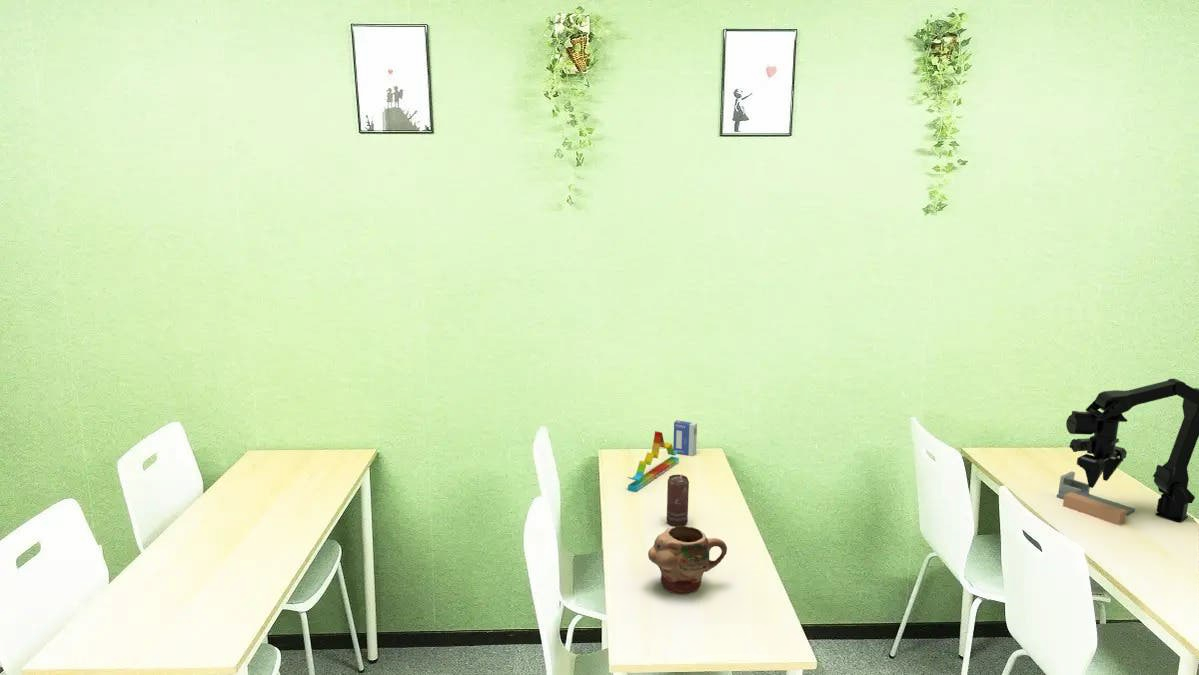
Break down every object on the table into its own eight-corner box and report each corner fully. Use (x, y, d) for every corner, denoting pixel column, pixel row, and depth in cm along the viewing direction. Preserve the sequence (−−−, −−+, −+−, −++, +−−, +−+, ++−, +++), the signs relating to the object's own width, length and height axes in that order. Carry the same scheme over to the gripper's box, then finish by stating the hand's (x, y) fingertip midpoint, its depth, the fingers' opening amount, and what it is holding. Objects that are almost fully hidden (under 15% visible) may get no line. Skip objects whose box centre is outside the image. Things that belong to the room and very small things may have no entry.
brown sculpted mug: (715, 567, 212) (717, 518, 209) (733, 591, 201) (736, 540, 198) (641, 576, 208) (642, 526, 205) (656, 601, 196) (657, 549, 193)
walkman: (673, 453, 293) (674, 421, 291) (675, 450, 296) (676, 419, 293) (693, 456, 290) (694, 424, 287) (696, 454, 292) (697, 422, 290)
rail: (1124, 522, 241) (1126, 510, 240) (1118, 526, 238) (1120, 513, 238) (1069, 503, 254) (1070, 492, 253) (1062, 507, 251) (1064, 494, 250)
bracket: (1088, 495, 257) (1091, 477, 256) (1078, 500, 253) (1080, 482, 252) (1069, 488, 262) (1071, 471, 261) (1058, 493, 258) (1060, 476, 257)
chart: (636, 493, 259) (637, 448, 256) (627, 490, 261) (628, 446, 258) (679, 463, 284) (680, 422, 281) (671, 461, 286) (672, 420, 283)
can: (689, 519, 241) (690, 474, 237) (685, 528, 235) (687, 483, 231) (668, 516, 242) (670, 472, 239) (664, 525, 236) (666, 480, 233)
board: (1135, 511, 248) (1135, 508, 248) (1121, 518, 243) (1122, 516, 243) (1070, 490, 263) (1070, 488, 263) (1056, 496, 258) (1056, 494, 258)
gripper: (1091, 421, 252) (1084, 468, 255) (1061, 433, 241) (1055, 482, 245) (1130, 431, 243) (1123, 480, 247) (1102, 443, 233) (1094, 494, 236)
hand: (1098, 483), depth 244 cm, fingers open, 9 cm apart
